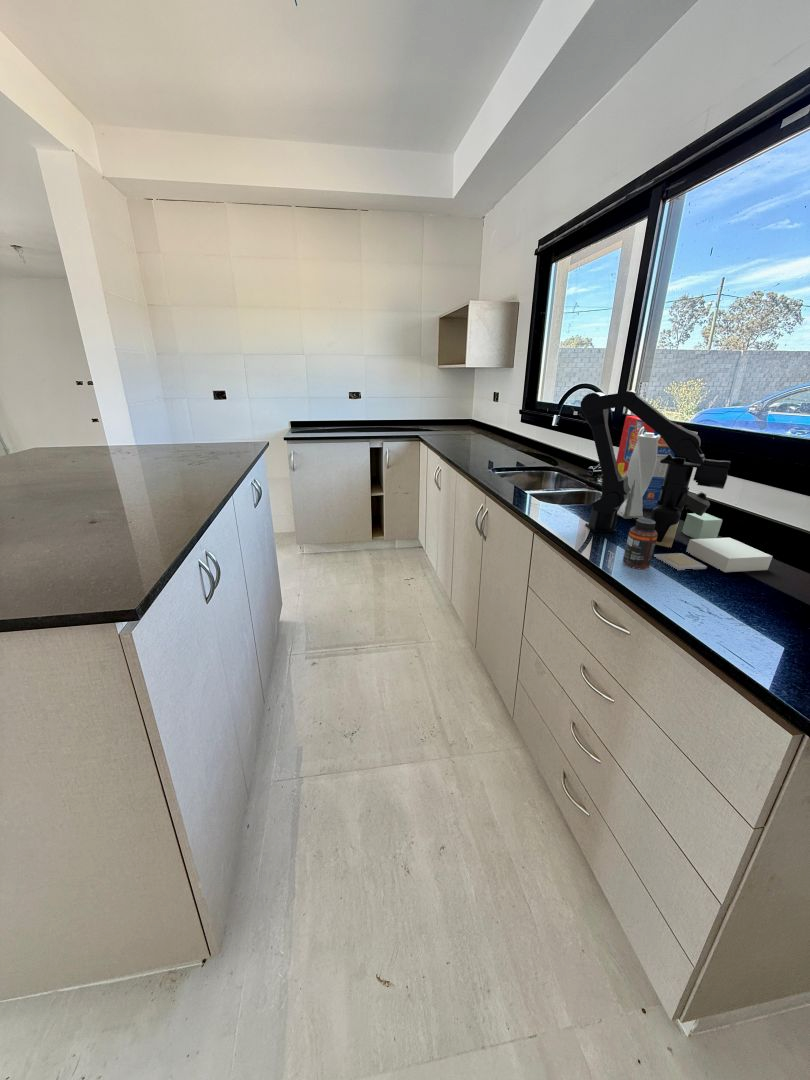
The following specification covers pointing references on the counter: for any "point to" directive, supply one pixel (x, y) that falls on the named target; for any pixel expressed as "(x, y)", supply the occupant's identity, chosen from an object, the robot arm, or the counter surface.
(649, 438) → the skyscraper
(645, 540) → the supplement bottle
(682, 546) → the counter surface
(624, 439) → the red and blue box
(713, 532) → the sage cube
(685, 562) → the tile
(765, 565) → the cream block
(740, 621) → the counter surface
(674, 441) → the robot arm
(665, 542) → the maple cube
